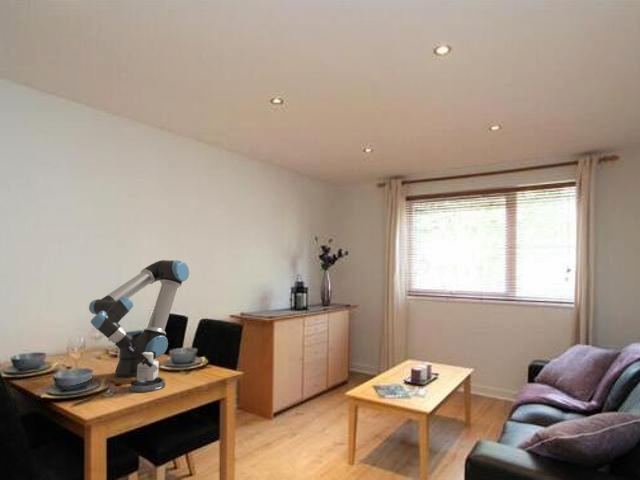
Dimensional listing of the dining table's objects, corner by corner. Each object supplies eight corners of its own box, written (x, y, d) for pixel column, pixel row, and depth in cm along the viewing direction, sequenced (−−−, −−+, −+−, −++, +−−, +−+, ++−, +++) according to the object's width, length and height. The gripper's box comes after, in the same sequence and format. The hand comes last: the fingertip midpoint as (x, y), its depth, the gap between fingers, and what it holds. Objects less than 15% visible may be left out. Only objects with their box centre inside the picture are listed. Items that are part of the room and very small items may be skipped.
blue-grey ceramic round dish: (122, 390, 184) (122, 385, 184) (143, 380, 200) (143, 375, 200) (152, 393, 181) (153, 387, 182) (171, 383, 197) (172, 377, 197)
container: (142, 376, 194) (143, 349, 195) (158, 376, 195) (159, 349, 196) (136, 381, 186) (137, 353, 187) (153, 380, 187) (154, 353, 188)
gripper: (113, 339, 194) (146, 368, 201) (115, 348, 174) (151, 379, 181) (125, 328, 197) (157, 356, 204) (128, 335, 177) (164, 367, 184)
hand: (154, 367), depth 193 cm, fingers closed on container, 10 cm apart
